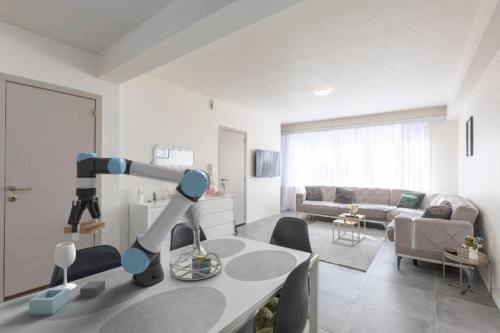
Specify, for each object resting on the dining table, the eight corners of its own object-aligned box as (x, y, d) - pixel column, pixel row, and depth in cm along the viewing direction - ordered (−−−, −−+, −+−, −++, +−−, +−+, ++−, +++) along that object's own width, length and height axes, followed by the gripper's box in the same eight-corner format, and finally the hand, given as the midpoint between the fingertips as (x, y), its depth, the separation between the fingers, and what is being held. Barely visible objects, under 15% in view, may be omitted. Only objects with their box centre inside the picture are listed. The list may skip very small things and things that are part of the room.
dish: (69, 302, 105) (69, 288, 105) (52, 315, 96) (52, 299, 96) (47, 302, 105) (47, 288, 105) (29, 315, 96) (29, 300, 96)
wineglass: (49, 294, 112) (49, 247, 112) (58, 285, 120) (58, 242, 120) (71, 291, 114) (71, 246, 114) (79, 283, 122) (79, 240, 123)
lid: (104, 227, 116) (104, 222, 116) (89, 233, 105) (89, 227, 105) (81, 227, 116) (81, 221, 116) (63, 233, 105) (63, 227, 105)
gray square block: (105, 289, 116) (105, 280, 116) (96, 297, 109) (96, 288, 109) (90, 289, 116) (90, 281, 116) (80, 297, 109) (80, 288, 109)
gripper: (94, 185, 123) (93, 229, 122) (57, 189, 99) (56, 244, 99) (109, 185, 122) (108, 229, 122) (75, 189, 99) (74, 244, 99)
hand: (85, 236), depth 111 cm, fingers closed on lid, 11 cm apart
